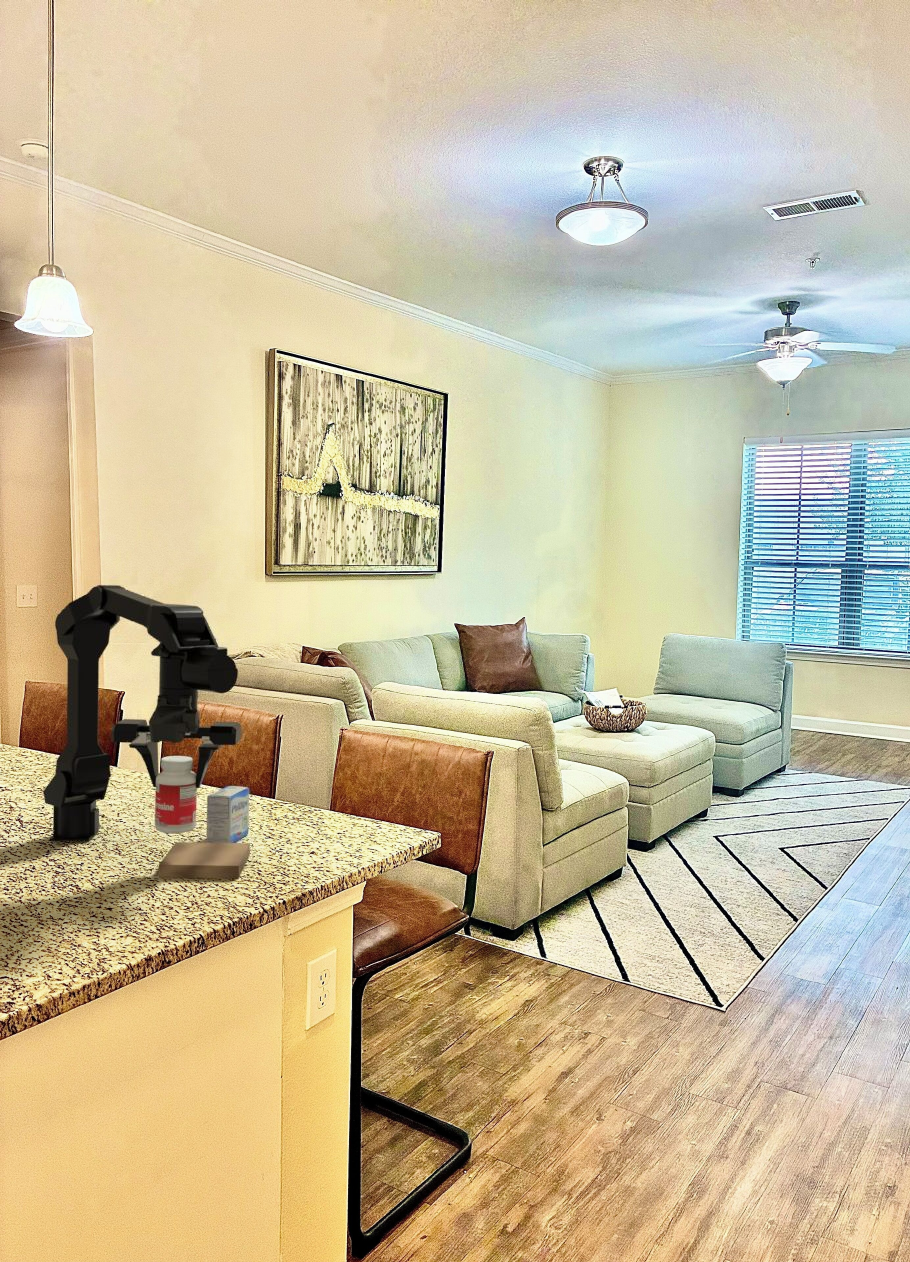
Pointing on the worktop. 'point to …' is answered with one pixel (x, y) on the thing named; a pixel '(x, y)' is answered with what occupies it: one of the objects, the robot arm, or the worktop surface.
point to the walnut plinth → (205, 860)
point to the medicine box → (228, 815)
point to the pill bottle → (175, 796)
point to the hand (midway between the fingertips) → (176, 787)
